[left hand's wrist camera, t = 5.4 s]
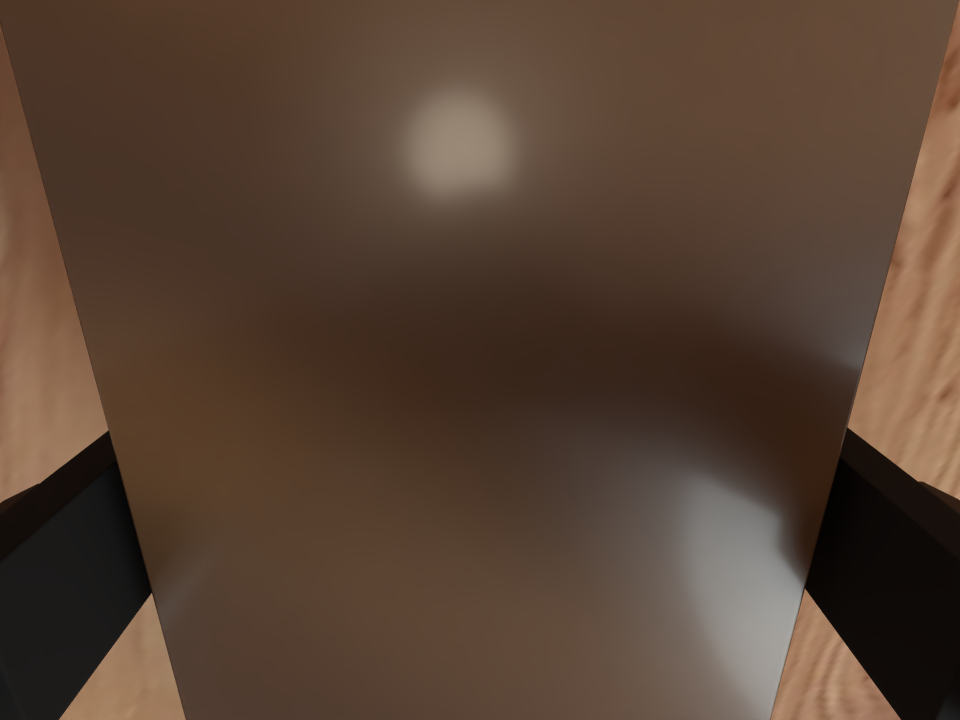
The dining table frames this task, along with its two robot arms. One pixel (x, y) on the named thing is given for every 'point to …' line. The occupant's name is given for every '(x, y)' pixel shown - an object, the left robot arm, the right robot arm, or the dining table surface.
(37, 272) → the dining table surface
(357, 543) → the cabinet
